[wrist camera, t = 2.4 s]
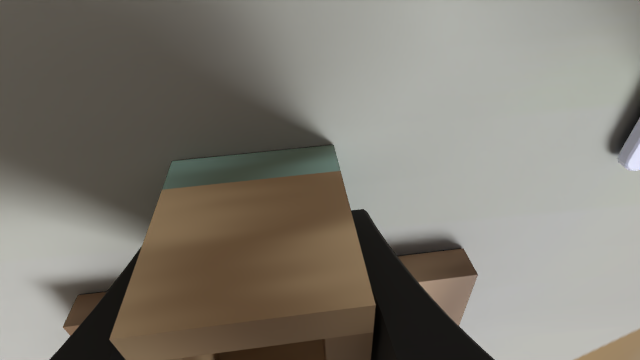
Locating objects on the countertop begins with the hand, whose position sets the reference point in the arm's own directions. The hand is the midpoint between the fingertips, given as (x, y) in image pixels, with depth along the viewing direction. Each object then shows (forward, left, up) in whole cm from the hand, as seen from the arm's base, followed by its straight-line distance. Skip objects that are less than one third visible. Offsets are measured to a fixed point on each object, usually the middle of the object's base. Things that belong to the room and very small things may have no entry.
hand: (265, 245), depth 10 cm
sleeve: (0, 0, -1) cm, 1 cm away
